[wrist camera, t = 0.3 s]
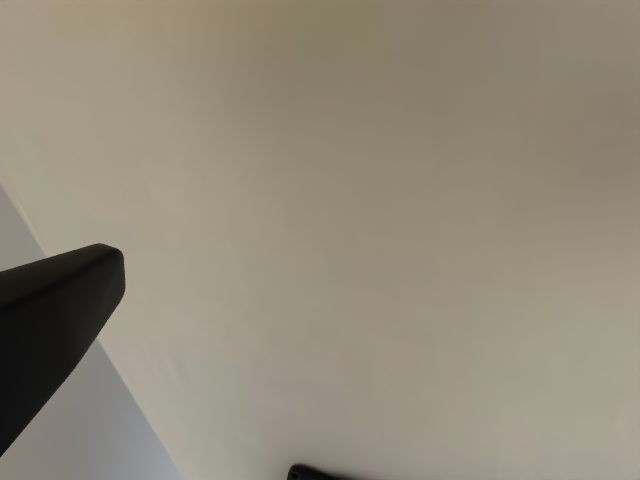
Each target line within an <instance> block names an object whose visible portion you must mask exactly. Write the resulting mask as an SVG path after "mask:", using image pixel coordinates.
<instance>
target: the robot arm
mask: <svg viewBox="0 0 640 480" xmlns="http://www.w3.org/2000/svg"><path fill="white" fill-rule="evenodd" d="M124 292H125V270H124V257H123V254H122V252H121V251H120V250H119V249H117V248H114V247H111V246H108V245H105V244H100V243H98V244H93V245H90V246H87V247H83V248H80V249H76V250H73V251H70V252H66V253H63V254H59V255H56V256H53V257H49V258H46V259H42V260H39V261H36V262H32V263H29V264H25V265H22V266H18V267H15V268H12V269H9V270H5V271H2V272H0V457H1V456H2V455H3V453H4V452H5V451H6V450H7V449H8V448H9V447H10V445H11V444H12V443H13V442H14V441H15V439H16V438H17V437H18V436H19V435H20V433H21V432H22V431H23V430H24V429H25V427H26V426H27V425H28V424H29V423H30V421H31V420H32V419H33V418H34V417H35V416H36V414H37V413H38V412H39V411H40V410H41V408H42V407H43V406H44V405H45V404H46V402H47V401H48V400H49V399H50V398H51V396H52V395H53V394H54V393H55V392H56V391H57V389H58V388H59V387H60V386H61V384H62V383H63V382H64V381H65V379H67V377H68V376H69V375H70V373H71V372H72V371H73V370H74V369H75V367H76V366H77V364H78V363H79V362H80V360H81V359H82V357H83V356H84V354H85V353H86V352H87V350H88V348H89V347H90V346H91V344H92V343H93V341H94V340H95V338H96V337H97V335H98V334H99V332H100V331H101V329H102V328H103V326H104V325H105V323H106V322H107V320H108V319H109V317H110V316H111V314H112V313H113V311H114V310H115V309H116V307H117V306H118V304H119V303H120V301H121V299H122V297H123V295H124ZM287 480H334V479H331V478H329V477H326V476H323V475H321V474H318V473H315V472H313V471H310V470H307V469H305V468H302V467H299V466H296V465H295V466H291V468H290V470H289V473H288V478H287Z"/></svg>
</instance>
